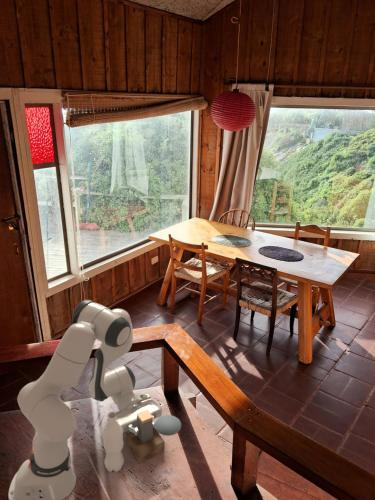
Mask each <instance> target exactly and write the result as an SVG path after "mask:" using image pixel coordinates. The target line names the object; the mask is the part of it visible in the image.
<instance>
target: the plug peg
mask: <svg viewBox="0 0 375 500" xmlns="http://www.w3.org/2000/svg"><path fill="white" fill-rule="evenodd" d="M136 428H138V430H139V434H138V435H137V437H138V439H139V441H140V442H141V444H144V443H146V442H149V441H151V440H153V416H152V415H151V414H150V412H149V411H148V409H147V410H144V411H142V412H140V413H137V427H136Z"/></svg>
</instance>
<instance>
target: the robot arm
mask: <svg viewBox="0 0 375 500" xmlns="http://www.w3.org/2000/svg"><path fill="white" fill-rule="evenodd" d="M133 330H134V329H133V324H132V319H131V316H130V314H129V312H128V311H127V310H125V309H123V308H113V309H110V308H109V307H106V306H104V305H102V304H100V303H98V302H96V301H94V300H91V299H84V300H83V301H81V302H79V303H78V304H77V305H76V306H75V307H74V309H73V312H72V316H71V325H70V326H69V327H68V329H67V330H66V331H65V333H64V334H63V336H62V338H61V340H60V341H59V342H58V344H57V347H56V349H55V351H54V353H53V355H52V357H51V360H50V361H49V363H48V365H47V366H46V369H45V370H44V372H43V373H42V375H41V376H40V377H39V378H38V379H37V380H34V381H31V382H29V383H27V384H26V385H24V386H23V387H22V388H21V389H20V390H19V393H18V395H17V398H16V399H17V403H18V406H19V408H20V411H21V413H22V414H23V415H24V417H26V418H27V420H28V421H29V422H30V424H31V425H32V427H33V428H34V430H35V432H36V434H35V435H34V436H33V439H32V442H31V443H32V447H31V451H30V453H31V454H30V456H29V458H28V459H26V460H25V461H24V462H23V463H22V464H21V465H20V466H19V469H18V471H17V472H16V473H15V474H14V476H13V479H12V480H11V482H10V485H9V489H8V496H7V497H8V500H64V499H65V498H67V497H68V496H69V495H70V494H72V492H73V490H74V489H75V487H76V482H77V476H76V473H75V471H74V470H73V467H72V465H71V464H72V455H71V451H70V448H69V445H68V440H69V439H70V438H71V437H72V436H73V434H74V433H75V431H76V429H77V425H78V422H77V418H76V416H75V414H74V413H73V411H72V409H71V408H70V406H68V405H67V404H66V402H64V401H63V400H62V399H61V395H62V393H63V391H64V390H65V389H69V388H72V387H75V386H76V385H77V384H78V383H79V381H80V379H81V378H82V375H83V373H84V371H85V369H86V367H87V365H88V362H89V359H90V357H91V355H92V351H93V348H94V345H95V343H96V341H99V342H101V344H100V345H99V347H98V348H97V349H96V351H95V353H94V356H95V357H96V358H94V357H93V361H92V362H93V363H92V370H91V377H90V379H89V383H88V390H89V393H90V396H91V398H92V399H93V400H95V401H97V402H98V401H99V402H103V401H105V400H107V399H108V398H111V399H112V401H113V404H115V405H116V406H117V409H118V411H117V412H115V413H116V417H117V422H118V423H119V424H120V425H121V427H122V429H123V433H125V432H127V431H128V432H133V433H134V434H135V435H138V434H139V430H138V428H137V413H140V412H142V411H144V410H147V409H148V411H149V412H150V414H151V415H152V416H153V428H154V427H156V424H155V423H156V421H155V419H158V418H160V417H162V416H163V415H162V414H163V409H162V406H161V405H160V404H159V402H158V401H157V400H156V399H154V398H152V397H151V396H152V395H150V393H144V394H135V393H134V389H135V386H136V376H135V374H134V372H133V371H132V369H131V368H130V367H129V366H127V365H125V364H122V365H120V366H118V367H115V368H113V369H111V370H109V371H107V368H108V367H109V366H110V365H112V364H113V363H114V362H115V361H117V360H119V359H120V358H122V357H124V356H125V355H126V354H128V352H130V350H131V347H132V345H133V340H134V339H133V338H134V335H133V333H134V332H133Z"/></svg>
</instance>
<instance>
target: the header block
mask: <svg viewBox="0 0 375 500" xmlns="http://www.w3.org/2000/svg"><path fill="white" fill-rule="evenodd" d="M125 436H126V437H125V441H126V445H127V447H128V448H129V450H130V451H131V453H132V455H133V456H134V458H135V460H136V461H137V463H138V464H140V463H142V462H145V461H147V460H148V459H151V458H152V457H154V456H156V455H159V454H161V453H163V452H165V440H164V438H163V437H162V436H161V434H160V433H159V432H158V431H157V430H156V428H155V427H154V428H153V440H151V441H149V442H146V443H144V444H141V442H140V441H139V439H138V437H137V435H135V434H134V433H133V432H130V431H128V432H126V433H125Z"/></svg>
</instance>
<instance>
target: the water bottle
mask: <svg viewBox="0 0 375 500" xmlns="http://www.w3.org/2000/svg"><path fill="white" fill-rule="evenodd" d="M106 422H107V423H106V425H105V426H104V427H103V430H102V437H103V438H102V441H103V445H102V446H103V448H104V450H105V458H104V463H103V464H104V467H105V469H106V470H107V471H108V472H110V473H112V472H113V471H114V473H116V472H119V471H120V470H121V469H122V467H123V466H124V463H125V458H124V455H123V452H122V450H123V448H124V435H123V434H124V432H123V429H122V427H121V425H120V424H119V423H118V422H117V417H116V412H115V411H110V412H109V413H108V414H107V419H106Z"/></svg>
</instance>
